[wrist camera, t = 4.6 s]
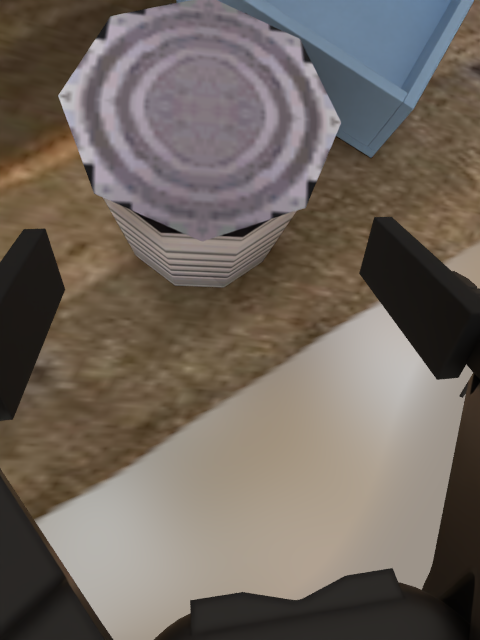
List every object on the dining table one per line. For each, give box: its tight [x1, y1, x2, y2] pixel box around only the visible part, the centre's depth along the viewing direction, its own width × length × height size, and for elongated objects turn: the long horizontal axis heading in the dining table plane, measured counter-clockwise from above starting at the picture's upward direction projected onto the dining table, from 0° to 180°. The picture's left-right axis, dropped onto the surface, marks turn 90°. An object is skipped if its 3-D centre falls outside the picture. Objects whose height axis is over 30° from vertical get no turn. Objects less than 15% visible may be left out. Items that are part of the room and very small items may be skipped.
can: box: [59, 0, 341, 287], centre depth 21 cm, size 11×11×12 cm
